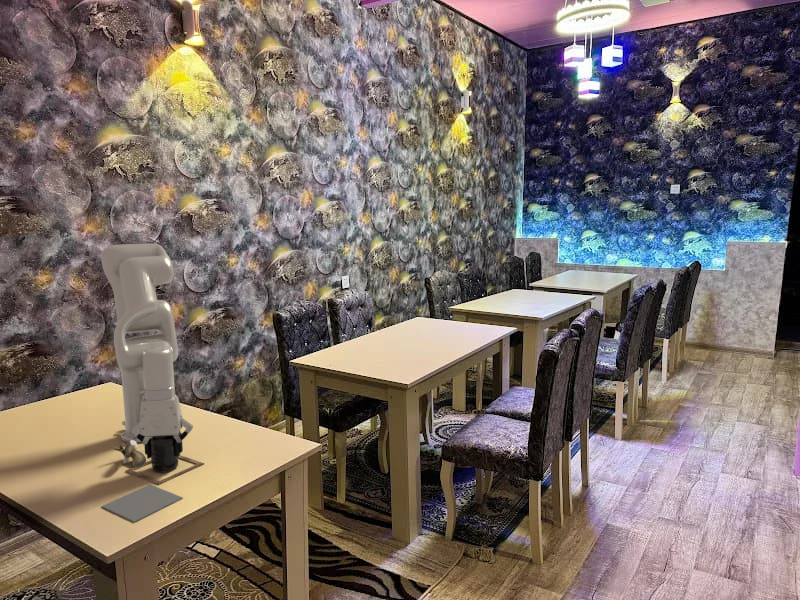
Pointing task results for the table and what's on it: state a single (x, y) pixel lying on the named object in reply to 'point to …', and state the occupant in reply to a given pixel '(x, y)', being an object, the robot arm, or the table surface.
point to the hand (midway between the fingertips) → (164, 455)
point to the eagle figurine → (132, 453)
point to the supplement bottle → (163, 453)
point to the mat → (142, 503)
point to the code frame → (168, 471)
